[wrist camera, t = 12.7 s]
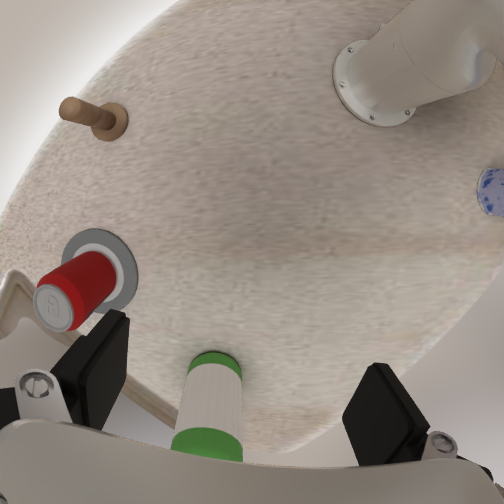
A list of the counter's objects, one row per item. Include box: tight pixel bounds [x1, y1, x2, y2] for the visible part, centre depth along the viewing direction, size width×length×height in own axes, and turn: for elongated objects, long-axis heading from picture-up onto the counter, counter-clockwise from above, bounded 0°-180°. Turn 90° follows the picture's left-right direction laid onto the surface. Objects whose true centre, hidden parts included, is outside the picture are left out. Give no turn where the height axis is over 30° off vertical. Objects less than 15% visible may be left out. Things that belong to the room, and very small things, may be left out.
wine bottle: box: [171, 352, 243, 462], centre depth 28 cm, size 8×8×30 cm
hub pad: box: [61, 229, 138, 314], centre depth 38 cm, size 12×12×1 cm
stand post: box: [59, 97, 128, 141], centre depth 28 cm, size 5×5×11 cm
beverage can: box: [33, 251, 116, 332], centre depth 32 cm, size 7×7×12 cm
